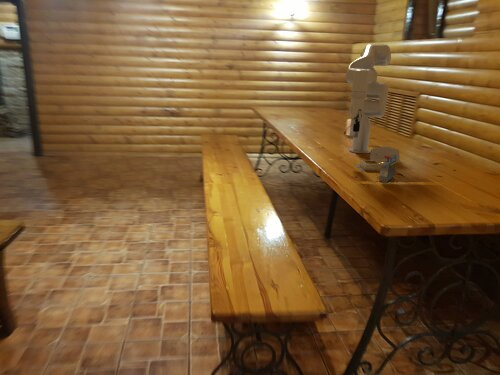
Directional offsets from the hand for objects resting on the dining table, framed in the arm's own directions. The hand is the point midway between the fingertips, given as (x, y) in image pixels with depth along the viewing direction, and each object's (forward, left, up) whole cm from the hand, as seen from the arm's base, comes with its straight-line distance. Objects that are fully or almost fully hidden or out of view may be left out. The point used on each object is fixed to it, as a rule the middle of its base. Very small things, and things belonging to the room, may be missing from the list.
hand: (354, 130), depth 199 cm
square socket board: (+9, +11, -18) cm, 23 cm away
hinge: (-9, +22, -20) cm, 31 cm away
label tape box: (+26, +9, -20) cm, 34 cm away
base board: (+8, +10, -19) cm, 23 cm away
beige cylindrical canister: (0, 0, -3) cm, 3 cm away
